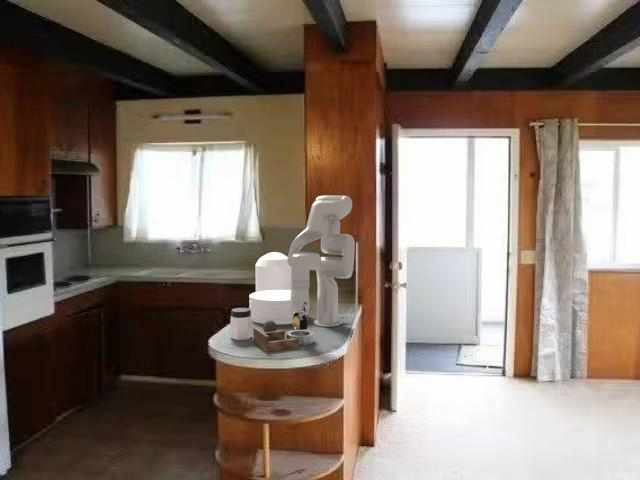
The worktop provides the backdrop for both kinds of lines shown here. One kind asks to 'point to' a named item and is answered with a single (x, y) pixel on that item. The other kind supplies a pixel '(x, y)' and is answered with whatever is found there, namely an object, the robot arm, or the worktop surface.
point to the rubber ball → (269, 326)
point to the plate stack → (271, 306)
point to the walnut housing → (264, 339)
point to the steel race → (301, 336)
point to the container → (273, 272)
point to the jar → (241, 323)
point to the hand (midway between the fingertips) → (300, 327)
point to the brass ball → (296, 322)
